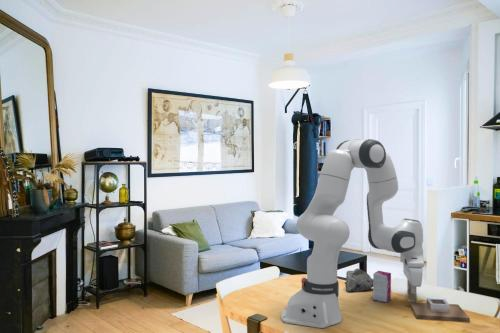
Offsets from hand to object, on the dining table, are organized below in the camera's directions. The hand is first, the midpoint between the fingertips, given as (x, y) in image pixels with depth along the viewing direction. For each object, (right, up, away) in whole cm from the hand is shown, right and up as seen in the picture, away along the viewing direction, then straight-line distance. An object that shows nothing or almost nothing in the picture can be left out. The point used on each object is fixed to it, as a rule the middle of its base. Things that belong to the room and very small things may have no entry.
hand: (411, 291), depth 170 cm
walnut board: (+4, -4, -14) cm, 15 cm away
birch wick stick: (0, -4, 0) cm, 4 cm away
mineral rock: (-18, -4, +14) cm, 23 cm away
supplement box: (-12, -5, +1) cm, 13 cm away
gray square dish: (+4, -3, -14) cm, 15 cm away
